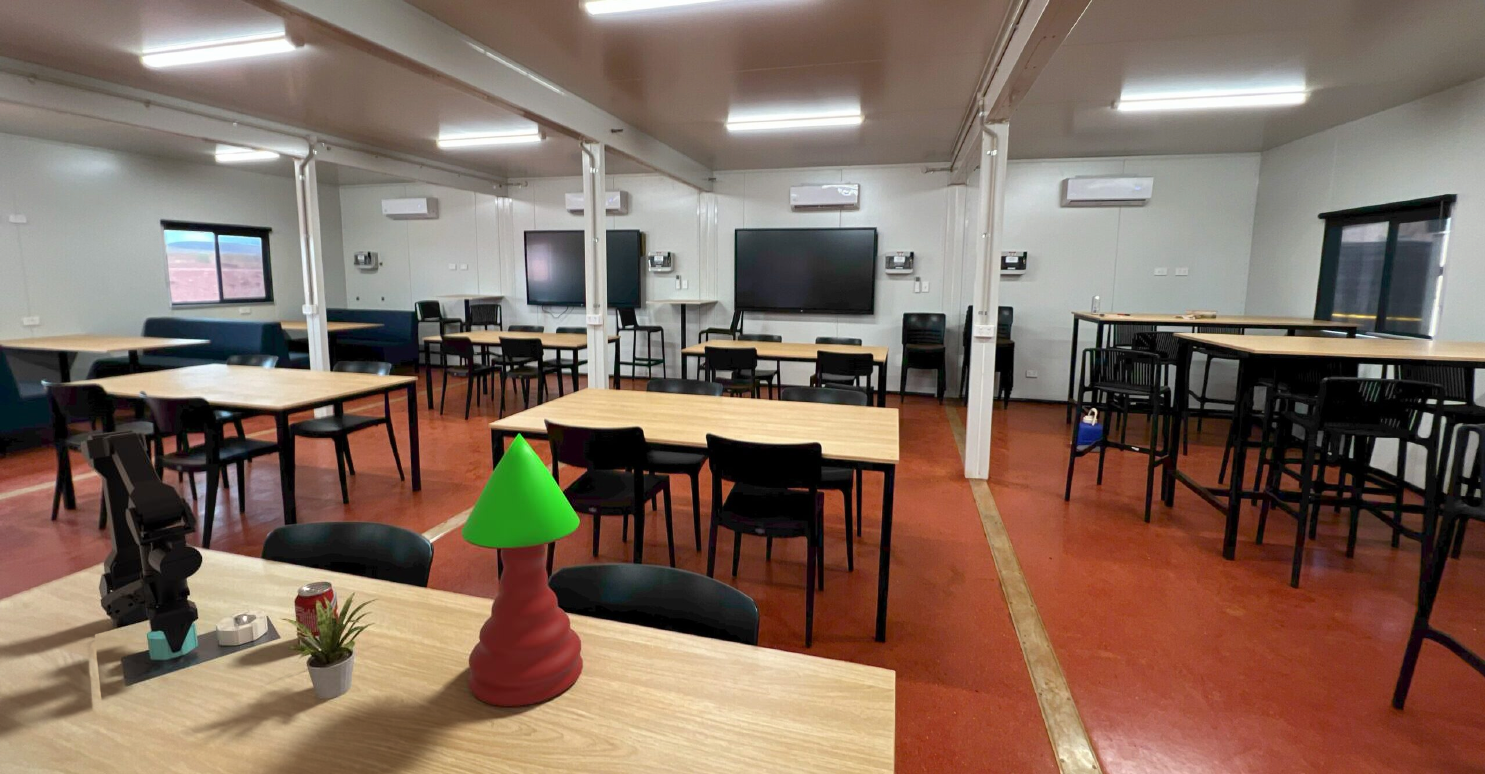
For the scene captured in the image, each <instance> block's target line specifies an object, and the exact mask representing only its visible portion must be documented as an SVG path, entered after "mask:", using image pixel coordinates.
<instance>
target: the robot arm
mask: <svg viewBox="0 0 1485 774" xmlns="http://www.w3.org/2000/svg"><path fill="white" fill-rule="evenodd" d="M147 451H148V445H147V441H146V436H145V432H135V431H133V430H132V429H126V430H125V429H124V430H118V431H117V430H116V431H110V432H102V433H95V434H89V435H88V436H87V439H86V440H82V441H81V442H80V452H81V455H82V458H83V459H84V460H86V461H87V466H88V467H89V468H90V469H91V470H93V471H94V472H95V473H96V474H97V475H99V477H100V478H101V481H102V482H101V483H102V489H103V495H104V500H105V502H104V503H105V507H106V515H107V519H108V520H107V522H108V526H109V528H108V529H109V535H110V541H111V548H112V549H111V550H110V552H109V554H108V556H107V557H106V559H105V560H104V562H103V570H104V573H102V574H101V575H100V580H99V583H98V590H99V594H100V606H101V608H102V609H103V610H104V612H105V613H106V616H109V618H110V619H111V620H112V624H113V629H114V630H117V629H121V628H125V627H128V626H132V625H136V624H139V623H144V622H147V621H149V622H148V624H149V628H150V631H151V632H157V631H162V632H163V633H164V635H165V637H166V640H167V642H168V644H169V646H170V649H171V651H172V653H176V652H179V651H180V650H181V648H182V646H183V643H184V641H185V639H186V636H187V634H188V632H189V630H190V627H191V625H192V623H193V621H194V622H196V621H197V620H199V612H198V608H197V605H196V602H195V601H192V600H191V599H188V596H191V591H190V588H189V584H188V578H190V577H191V576H193V575H195V574H196V573H197V572H198V571H199V570H200V568H201V566H202V564H203V555H202V553H201V552H200V551H199V550H198V549H197V548H195V547H194V546H192V545H191V544H189V543H188V541H187V540H186V535H190V534H193V533H196V528H195V526H196V525H197V520H196V518H195V515H194V513H193V510H192V508H191V506H190V503H189V502H188V501H186V499H185V498H184V497H181V495H180V494H179V493H178V491H177V489H176V488H175V486H172V485H170V484H167V483H165V482H163V481H162V480H161V478H160V476H159V475H158V472H157V471H156V469H155V466H154V465H153V463H152V460H151V459H150V457H149V455H148V453H147ZM182 521H183V523H184V524H181V523H182Z"/></svg>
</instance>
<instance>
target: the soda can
mask: <svg viewBox="0 0 1485 774" xmlns="http://www.w3.org/2000/svg"><path fill="white" fill-rule="evenodd" d="M337 594H338V593H337V591H336V589H334V588H333V584H332V583H331V582H330V581H315V582H311V583H308V584H305V585H303V586H301V587H299V588H298V589H297V596H296V597H295V598H294V601H293V602H294V612H295V621H296V622H299V623H301V624H302V625H304V626H305V627H306V628H307V629H309V630H310V631H311V633H312V634H313V635H314V636H315V637H316V638H317V639H318V640H319V641H320V638H319V629H318V622H317V612H316V601H317V600H318V601H320V602H321V604H322V606H323V607H324V609H325V610H326V611H327V614H328V609H327V605H326V602H325V599H324V596H325V598H326V599H327V600H328V601H329V603H330V604H331V606H332V608H333V609H334V608H335V607H336V608H335V609H334V610H333V612H334V617H335V616H336V620H337V622H338V617H339V605H338V595H337ZM296 631H300V632H302V633H304V632H303V631H301V630H300V629H299V628H298V627H296ZM302 633H298V632H296V635H297V634H299V635H301V636H303V637H304V638H305V639H306V640H307V641H309V642H310V643H311V644H313V645H314V646H315V647H316V648H318V649H319V650H321V649H320V648H319V647H318V646H317V645H316V644H315V643H314V642H313V641H312V640H311V639H310V638H309V637H307V636H305V635H304V634H305V633H304V634H302ZM320 642H321V641H320ZM297 645H304V644H303V643H302V642H301V640H300V638H299V637H298V636H297ZM304 646H306V645H304Z"/></svg>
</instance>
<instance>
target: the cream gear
mask: <svg viewBox="0 0 1485 774" xmlns="http://www.w3.org/2000/svg"><path fill="white" fill-rule="evenodd" d="M241 614H247V616H248V624H246V625H242V626H239V627H235V617H236V616H238V615H241ZM266 616H267V615H266V614H265V611H263V610H246V611H242V612H239V613H236V614H232V615H229V616H227V617H226V616H225V618H223V619H221V620H220V621H219V622H218V623H216V624H215V630H216V632H217V640H218V641H219V645H234V646H235V645H240V644H243V643H246V642H250V641H253V640H256V639H258V638H259V637H260V636H262V635H263V634H264V633H266V632H267V630H268V628H267V618H266Z"/></svg>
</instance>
